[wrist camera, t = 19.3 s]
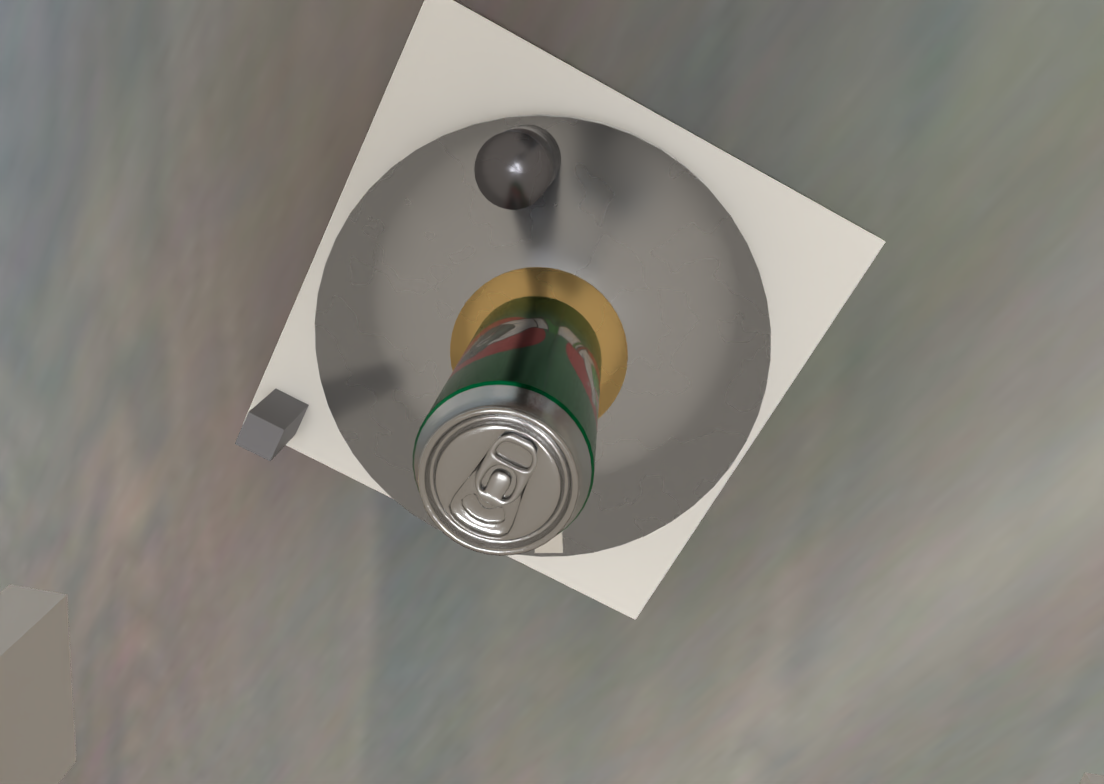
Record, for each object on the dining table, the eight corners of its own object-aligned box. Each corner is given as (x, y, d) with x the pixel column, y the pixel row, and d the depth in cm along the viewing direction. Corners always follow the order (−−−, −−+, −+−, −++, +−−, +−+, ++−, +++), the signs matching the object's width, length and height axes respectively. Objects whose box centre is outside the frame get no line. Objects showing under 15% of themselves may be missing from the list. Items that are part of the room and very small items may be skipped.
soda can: (452, 380, 35) (373, 518, 24) (507, 269, 34) (451, 360, 22) (565, 436, 36) (540, 598, 24) (625, 329, 34) (627, 448, 23)
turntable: (254, 220, 36) (171, 250, 30) (673, 35, 33) (685, 22, 26) (439, 584, 41) (404, 679, 34) (820, 456, 38) (862, 535, 31)
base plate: (435, -11, 34) (411, -22, 30) (878, 237, 36) (908, 255, 32) (251, 415, 41) (213, 449, 37) (635, 607, 42) (636, 658, 38)
